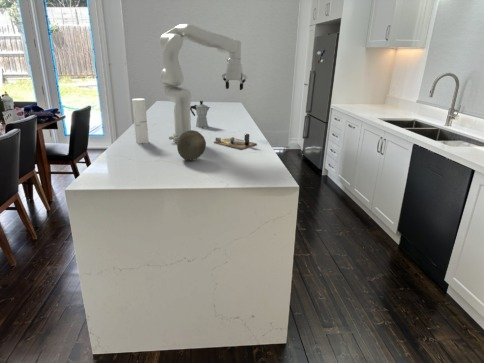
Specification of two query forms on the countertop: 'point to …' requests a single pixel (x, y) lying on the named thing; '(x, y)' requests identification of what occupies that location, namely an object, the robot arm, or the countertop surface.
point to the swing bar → (245, 142)
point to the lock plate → (237, 146)
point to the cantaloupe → (191, 145)
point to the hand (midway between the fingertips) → (234, 89)
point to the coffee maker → (200, 114)
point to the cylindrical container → (140, 120)
